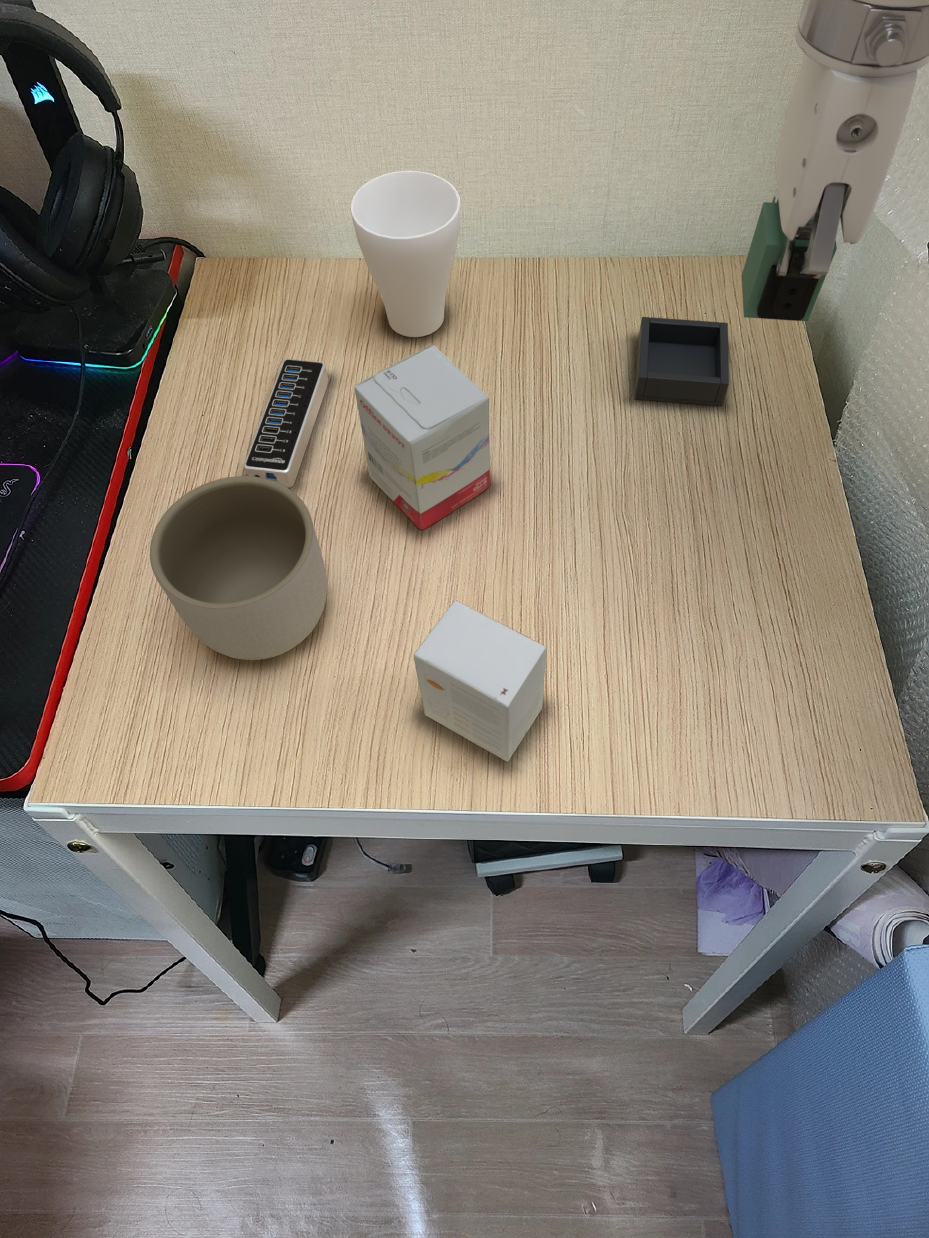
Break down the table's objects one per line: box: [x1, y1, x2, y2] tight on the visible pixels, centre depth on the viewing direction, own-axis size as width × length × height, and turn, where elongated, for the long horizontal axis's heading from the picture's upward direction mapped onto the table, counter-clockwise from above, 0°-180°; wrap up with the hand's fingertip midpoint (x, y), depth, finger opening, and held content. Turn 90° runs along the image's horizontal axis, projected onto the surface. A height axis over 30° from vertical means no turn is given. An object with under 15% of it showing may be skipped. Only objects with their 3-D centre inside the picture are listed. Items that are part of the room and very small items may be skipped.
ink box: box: [353, 344, 491, 531], centre depth 77 cm, size 9×9×12 cm
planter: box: [149, 475, 328, 661], centre depth 71 cm, size 12×12×11 cm
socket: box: [634, 316, 730, 407], centre depth 87 cm, size 9×9×3 cm
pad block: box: [741, 201, 838, 322], centre depth 61 cm, size 4×4×6 cm
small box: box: [413, 599, 547, 763], centre depth 65 cm, size 8×6×10 cm
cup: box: [349, 170, 462, 338], centre depth 88 cm, size 10×10×14 cm
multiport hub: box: [243, 358, 330, 489], centre depth 85 cm, size 4×14×2 cm, turn 171°
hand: (777, 289), depth 62 cm, fingers closed on pad block, 4 cm apart
